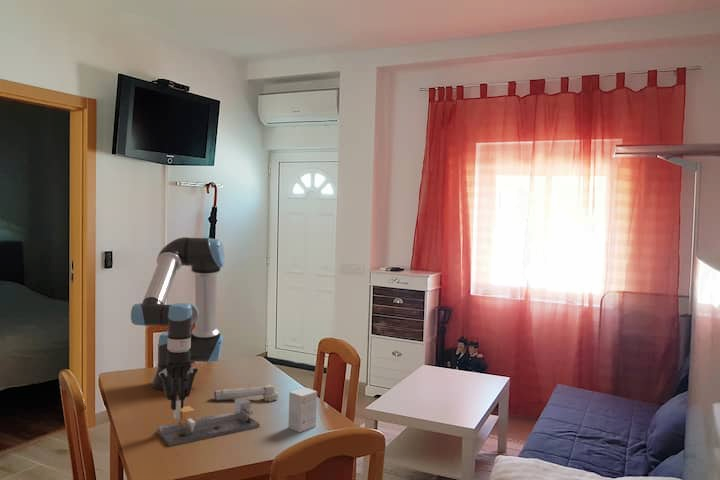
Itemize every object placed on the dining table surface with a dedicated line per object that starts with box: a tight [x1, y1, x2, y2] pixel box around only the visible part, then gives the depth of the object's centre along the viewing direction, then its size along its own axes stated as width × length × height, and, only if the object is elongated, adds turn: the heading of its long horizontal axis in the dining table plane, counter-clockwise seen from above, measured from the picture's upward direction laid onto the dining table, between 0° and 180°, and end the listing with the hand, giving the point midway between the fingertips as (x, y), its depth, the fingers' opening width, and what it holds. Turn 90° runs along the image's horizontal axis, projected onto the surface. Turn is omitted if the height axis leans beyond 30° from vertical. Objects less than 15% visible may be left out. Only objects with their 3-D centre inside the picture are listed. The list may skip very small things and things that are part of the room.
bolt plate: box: [155, 397, 261, 447], centre depth 193 cm, size 13×32×7 cm, turn 127°
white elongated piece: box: [213, 384, 279, 403], centre depth 225 cm, size 5×7×25 cm
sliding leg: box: [177, 405, 196, 432], centre depth 189 cm, size 9×4×6 cm, turn 37°
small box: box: [287, 387, 318, 433], centre depth 199 cm, size 8×6×13 cm
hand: (176, 418), depth 189 cm, fingers closed
